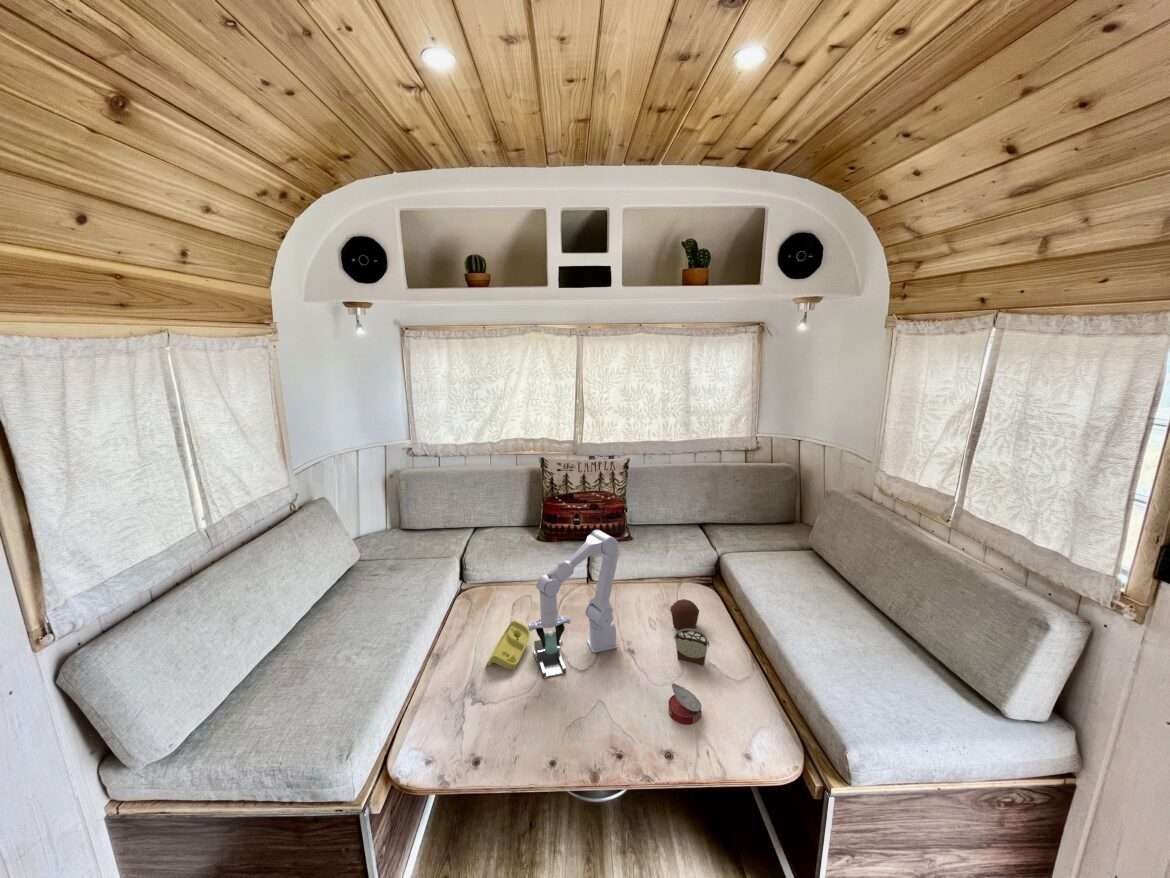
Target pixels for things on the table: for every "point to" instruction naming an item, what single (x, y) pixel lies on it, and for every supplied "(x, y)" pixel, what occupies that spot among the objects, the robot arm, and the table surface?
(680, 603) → the muffin
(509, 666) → the plastic component
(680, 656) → the food container
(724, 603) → the table surface
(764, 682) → the table surface
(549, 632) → the teal rounded cylinder
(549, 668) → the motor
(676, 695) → the canned food
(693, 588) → the table surface
